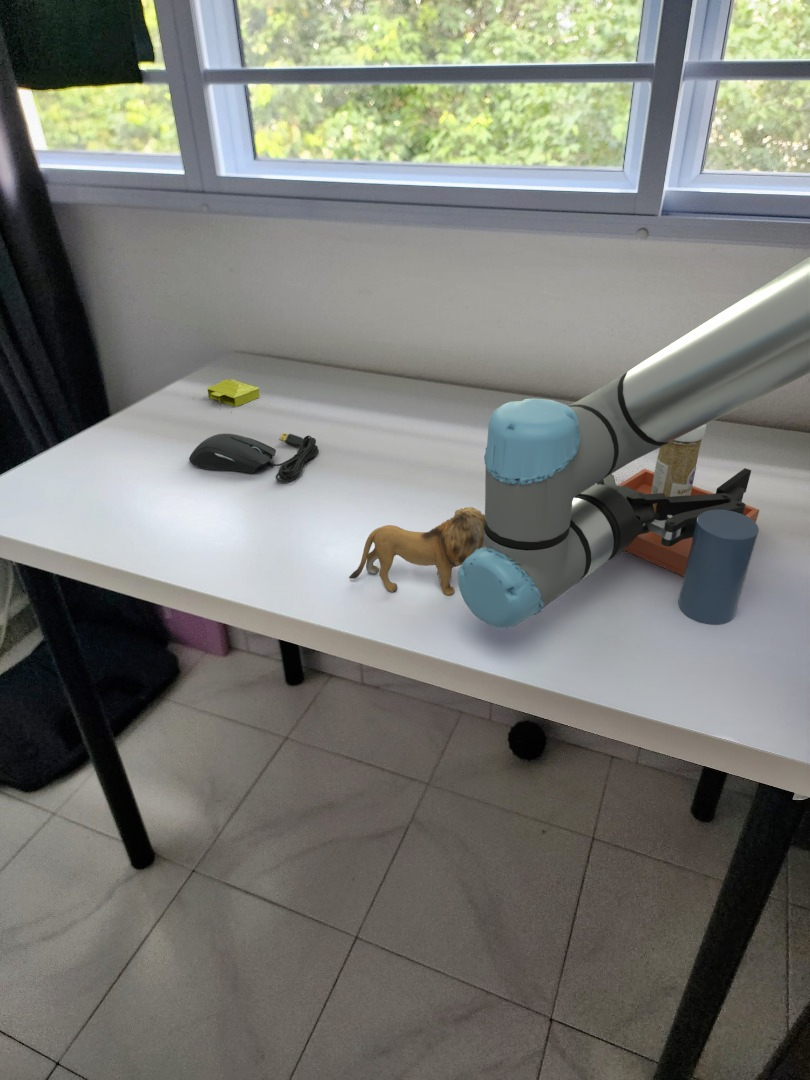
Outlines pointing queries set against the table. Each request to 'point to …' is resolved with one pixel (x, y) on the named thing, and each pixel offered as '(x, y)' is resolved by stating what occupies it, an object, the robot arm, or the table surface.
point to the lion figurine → (425, 547)
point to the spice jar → (677, 465)
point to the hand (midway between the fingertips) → (690, 461)
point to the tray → (650, 542)
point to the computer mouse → (251, 454)
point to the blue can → (717, 566)
